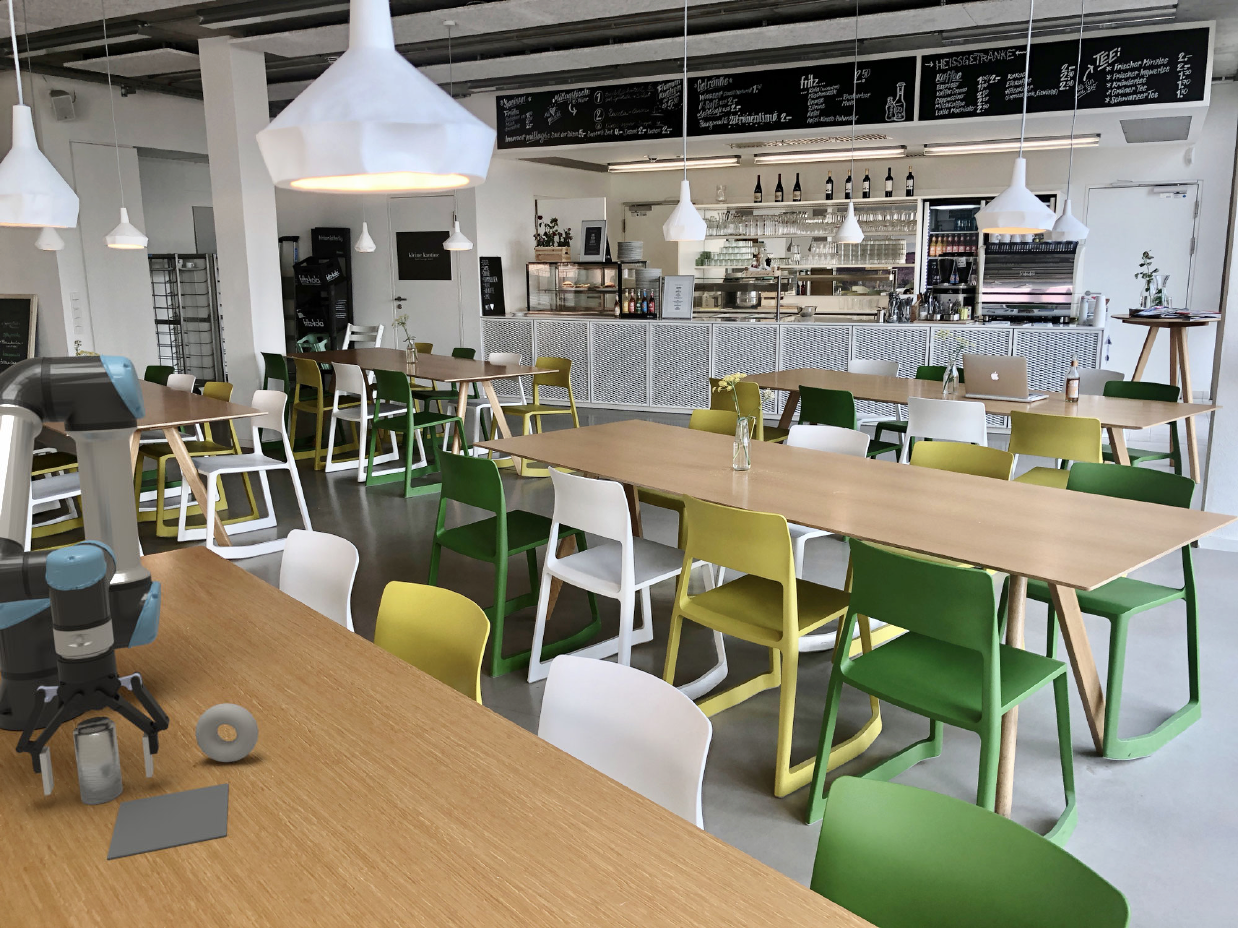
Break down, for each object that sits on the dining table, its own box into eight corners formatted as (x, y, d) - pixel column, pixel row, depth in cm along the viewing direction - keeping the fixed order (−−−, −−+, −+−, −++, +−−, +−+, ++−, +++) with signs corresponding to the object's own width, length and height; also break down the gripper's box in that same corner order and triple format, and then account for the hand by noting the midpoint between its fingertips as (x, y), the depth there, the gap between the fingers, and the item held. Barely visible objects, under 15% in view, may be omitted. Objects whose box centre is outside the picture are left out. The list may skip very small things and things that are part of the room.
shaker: (84, 789, 143) (75, 718, 141) (124, 782, 145) (116, 712, 143) (78, 807, 138) (69, 734, 136) (120, 799, 140) (112, 727, 138)
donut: (263, 754, 154) (259, 698, 152) (256, 765, 150) (251, 708, 148) (203, 756, 153) (197, 699, 151) (194, 766, 150) (188, 709, 148)
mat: (120, 803, 139) (120, 802, 139) (228, 784, 144) (228, 782, 144) (106, 859, 125) (106, 858, 125) (226, 836, 131) (226, 834, 131)
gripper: (-21, 672, 129) (-2, 810, 133) (176, 646, 138) (188, 777, 142) (-7, 653, 136) (11, 785, 140) (179, 630, 145) (191, 755, 149)
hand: (100, 781), depth 141 cm, fingers open, 13 cm apart
